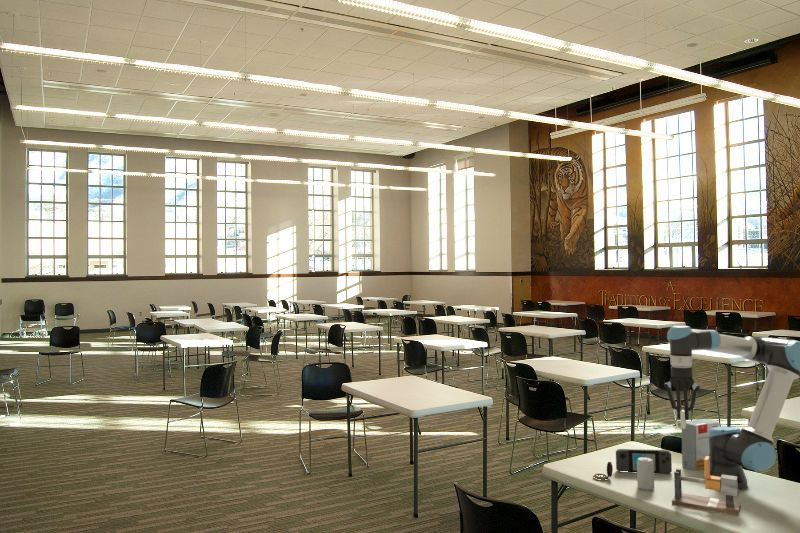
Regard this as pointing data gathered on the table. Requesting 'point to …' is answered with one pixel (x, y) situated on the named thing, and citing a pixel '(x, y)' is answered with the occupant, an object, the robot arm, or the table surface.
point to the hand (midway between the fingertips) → (683, 427)
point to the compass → (609, 472)
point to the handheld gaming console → (629, 457)
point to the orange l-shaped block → (711, 477)
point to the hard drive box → (696, 442)
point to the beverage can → (645, 473)
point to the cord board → (705, 503)
